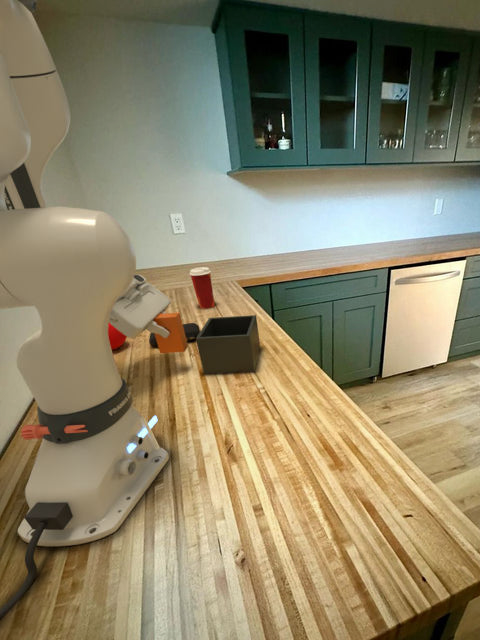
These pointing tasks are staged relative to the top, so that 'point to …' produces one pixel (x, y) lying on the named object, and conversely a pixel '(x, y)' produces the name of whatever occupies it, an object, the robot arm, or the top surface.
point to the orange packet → (177, 335)
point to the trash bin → (229, 344)
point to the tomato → (115, 337)
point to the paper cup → (203, 286)
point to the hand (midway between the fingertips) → (172, 331)
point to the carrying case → (189, 329)
